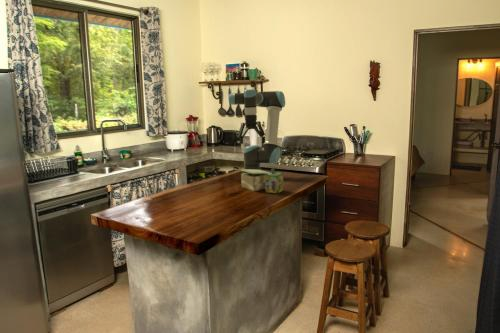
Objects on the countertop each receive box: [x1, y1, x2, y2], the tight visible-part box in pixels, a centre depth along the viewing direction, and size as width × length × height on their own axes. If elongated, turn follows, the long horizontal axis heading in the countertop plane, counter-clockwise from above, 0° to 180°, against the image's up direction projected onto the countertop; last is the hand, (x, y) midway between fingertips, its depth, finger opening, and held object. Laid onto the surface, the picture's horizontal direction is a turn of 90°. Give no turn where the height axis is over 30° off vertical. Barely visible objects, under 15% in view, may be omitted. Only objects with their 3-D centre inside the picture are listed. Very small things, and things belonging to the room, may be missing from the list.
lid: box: [240, 168, 271, 174], centre depth 256 cm, size 14×14×1 cm
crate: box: [240, 173, 265, 192], centre depth 257 cm, size 14×14×9 cm
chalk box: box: [264, 167, 284, 194], centre depth 245 cm, size 9×9×15 cm
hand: (251, 147), depth 251 cm, fingers open, 13 cm apart
